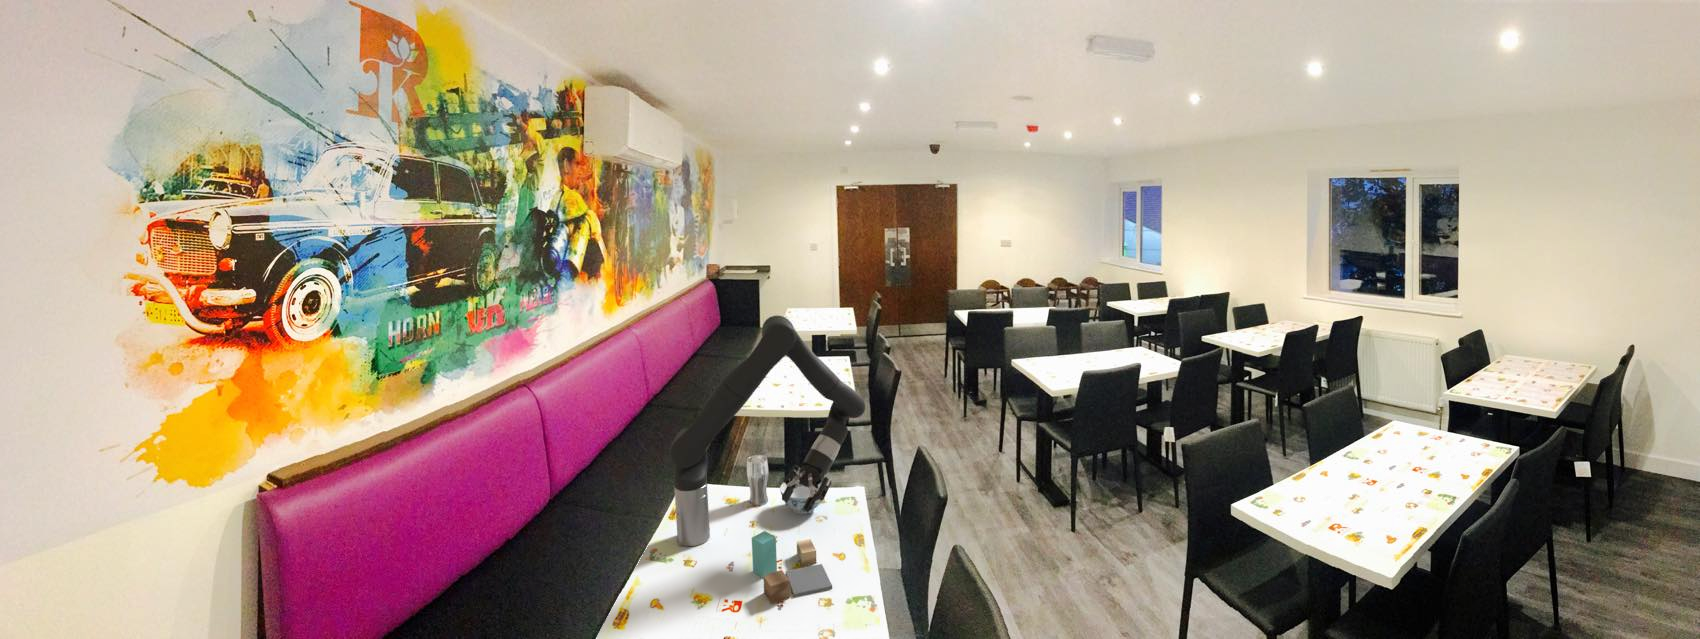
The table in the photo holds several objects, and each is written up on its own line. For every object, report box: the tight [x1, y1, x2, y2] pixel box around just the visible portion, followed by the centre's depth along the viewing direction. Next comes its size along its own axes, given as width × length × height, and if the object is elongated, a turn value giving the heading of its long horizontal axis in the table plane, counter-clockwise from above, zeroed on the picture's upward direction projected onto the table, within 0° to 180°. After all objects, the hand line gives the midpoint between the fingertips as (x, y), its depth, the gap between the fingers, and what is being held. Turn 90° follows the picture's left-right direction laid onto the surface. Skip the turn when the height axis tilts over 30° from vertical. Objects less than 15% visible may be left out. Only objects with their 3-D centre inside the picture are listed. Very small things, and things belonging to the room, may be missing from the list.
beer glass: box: [746, 454, 769, 507], centre depth 196 cm, size 7×7×15 cm
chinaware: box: [779, 480, 824, 515], centre depth 191 cm, size 15×15×8 cm
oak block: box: [796, 538, 817, 567], centre depth 164 cm, size 6×4×4 cm, turn 19°
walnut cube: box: [762, 569, 791, 605], centre depth 149 cm, size 5×5×5 cm
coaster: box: [785, 563, 833, 598], centre depth 155 cm, size 10×10×1 cm
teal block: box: [751, 530, 778, 579], centre depth 158 cm, size 4×4×10 cm
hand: (794, 505), depth 165 cm, fingers open, 8 cm apart
